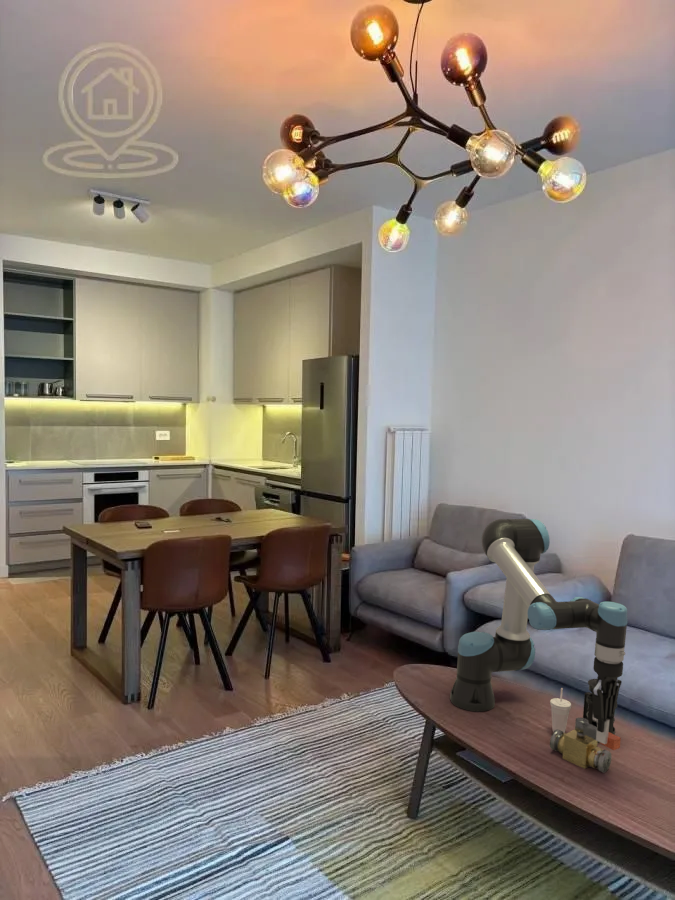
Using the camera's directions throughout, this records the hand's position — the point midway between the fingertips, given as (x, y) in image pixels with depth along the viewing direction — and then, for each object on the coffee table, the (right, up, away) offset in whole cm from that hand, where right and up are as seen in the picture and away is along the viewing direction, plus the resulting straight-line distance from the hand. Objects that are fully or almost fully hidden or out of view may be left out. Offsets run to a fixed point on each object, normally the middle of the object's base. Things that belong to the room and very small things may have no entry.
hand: (601, 741), depth 188 cm
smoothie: (-4, -8, +26) cm, 27 cm away
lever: (0, -1, +4) cm, 4 cm away
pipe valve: (-3, -9, +9) cm, 13 cm away
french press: (+8, -9, +24) cm, 27 cm away
